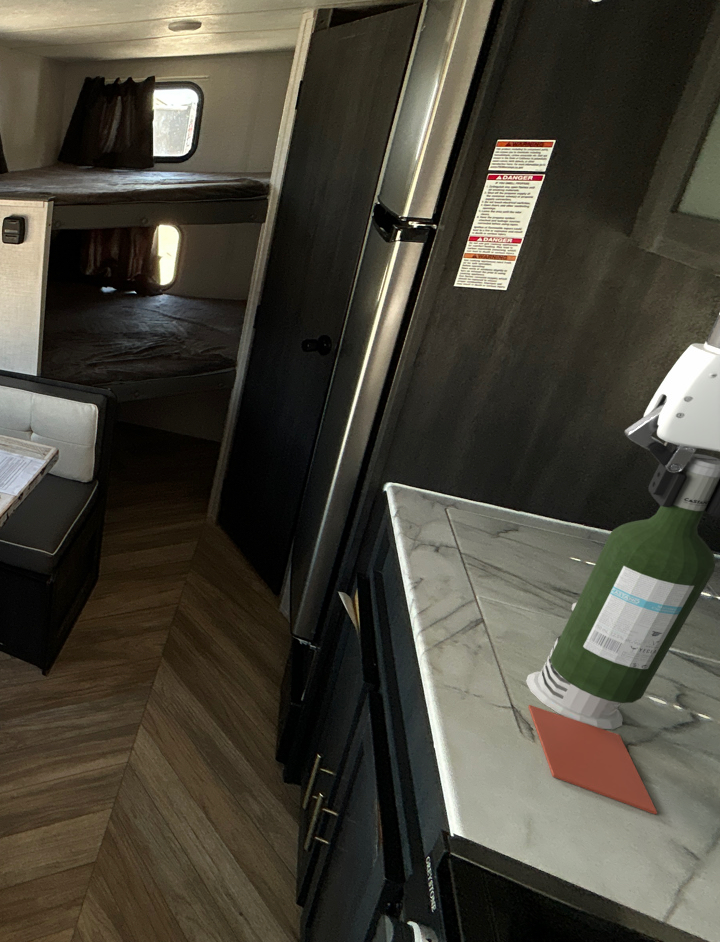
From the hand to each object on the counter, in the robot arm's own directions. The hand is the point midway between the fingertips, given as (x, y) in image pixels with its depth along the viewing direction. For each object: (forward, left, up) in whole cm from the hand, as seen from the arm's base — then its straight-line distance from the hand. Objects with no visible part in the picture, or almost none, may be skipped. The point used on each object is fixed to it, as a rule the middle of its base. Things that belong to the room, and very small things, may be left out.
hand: (684, 504), depth 67 cm
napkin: (-3, -1, -37) cm, 37 cm away
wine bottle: (0, 0, -25) cm, 25 cm away
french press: (-5, -13, -37) cm, 39 cm away
